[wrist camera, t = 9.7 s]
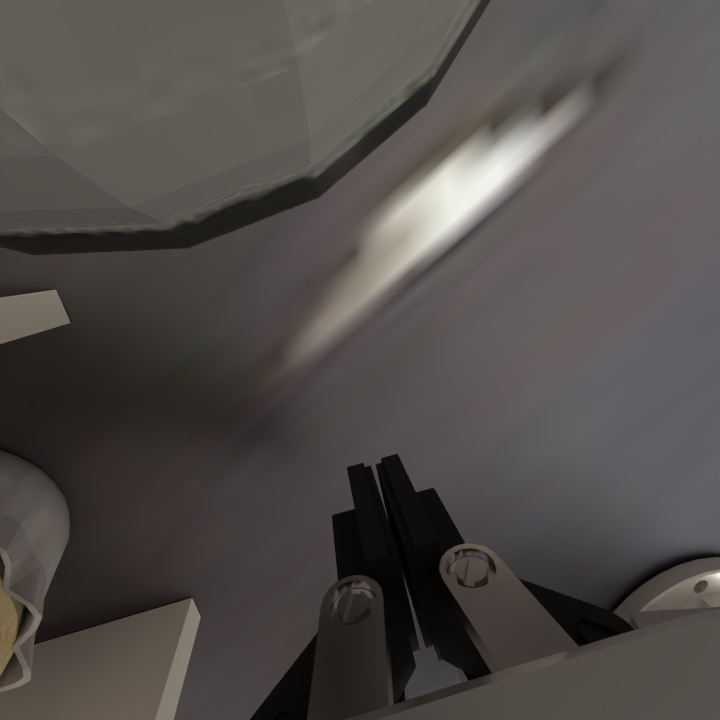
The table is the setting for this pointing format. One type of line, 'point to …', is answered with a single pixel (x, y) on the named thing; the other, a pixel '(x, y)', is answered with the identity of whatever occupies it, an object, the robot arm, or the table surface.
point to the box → (103, 642)
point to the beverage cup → (200, 110)
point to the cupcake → (26, 560)
